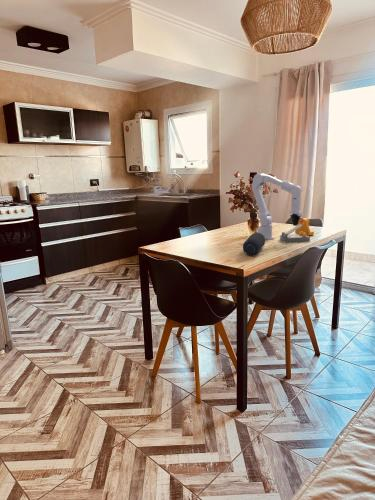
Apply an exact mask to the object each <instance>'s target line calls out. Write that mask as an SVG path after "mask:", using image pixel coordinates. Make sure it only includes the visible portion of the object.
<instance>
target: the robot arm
mask: <svg viewBox="0 0 375 500" xmlns="http://www.w3.org/2000/svg"><path fill="white" fill-rule="evenodd" d="M265 183H272V184H273V185H276V186H279V187H280V189H281V190H283V191H285V192H288V193H290V194H291V197H290V198H291V199H290V200H291V201H290V202H291V203H290V205H291V206H290V210H289V214H290V215H289V216H290V218H291V221H292V226H293V227H296V226H297V225H298V223H299V220H300V219H301V217H303V211H302V210H301V205H302V204H301V201H302V199H301V198H302V196H301V195H302V191H303V189H302V187H301V186H300V185H296V184H295V183H291V182H290V181H289V180H283V181H282V180H281V179H278V178H277V177H276V178H275V177H274V176H271V175H269V174H266V173H263V172H262V173H257V174H255V175H254V176H253V178H252V185H251V190H252V193H253V195H254V199H255V202H256V205H257V208H258V211H259V222H260V224H261V225H260V226H258V227H257V232H256V233H261V234H262V235H263V236H264V237H265V240H274V239H275V238H274V237H273V222H274V217H273V216H272V215H271V213H270V212H269V210H268V208H267V204H266V202H265V197H264V195H263V193H262V187H263V185H264V184H265Z"/></svg>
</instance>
